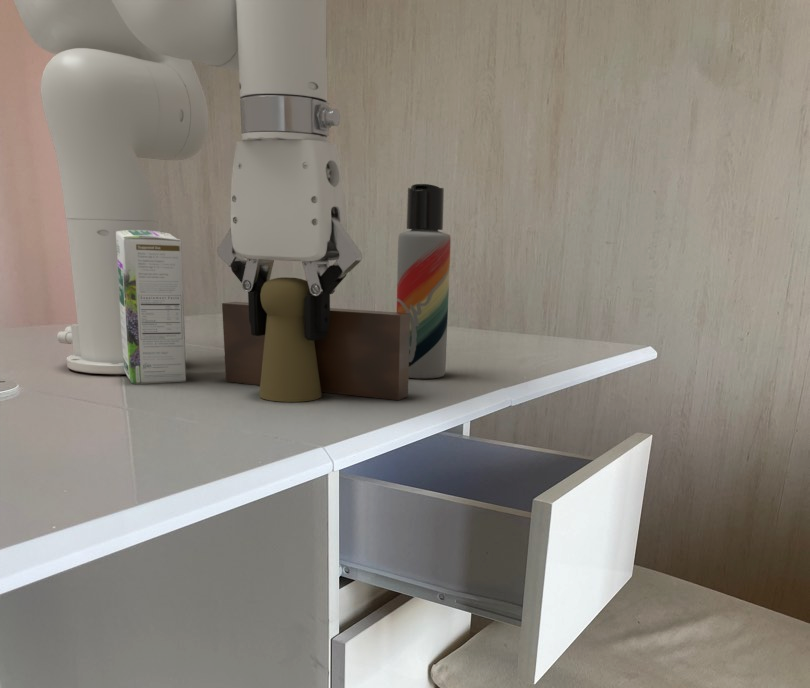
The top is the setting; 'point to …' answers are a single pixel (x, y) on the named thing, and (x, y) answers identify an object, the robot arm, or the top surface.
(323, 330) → the robot arm
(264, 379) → the cork
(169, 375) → the syrup box
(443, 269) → the lotion bottle
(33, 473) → the top surface
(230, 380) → the brown wooden block
